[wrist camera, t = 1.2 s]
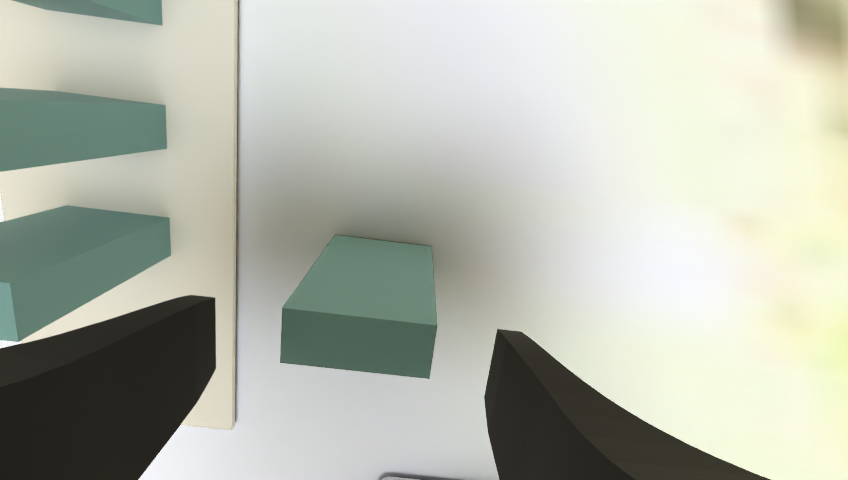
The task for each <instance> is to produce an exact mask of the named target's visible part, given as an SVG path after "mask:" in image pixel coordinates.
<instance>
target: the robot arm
mask: <svg viewBox="0 0 848 480" xmlns="http://www.w3.org/2000/svg"><path fill="white" fill-rule="evenodd" d="M215 370H216V309H215V297H206V296H197V295H187V296H182V297H178V298H174V299H171V300H167V301H164V302H161V303H158V304H155V305H151V306H148V307H145V308H142V309H139V310H136V311H133V312H130V313H127V314H124V315H121V316H118V317H115V318H112V319H109V320H105V321H102V322H99V323H95V324H92V325H89V326H85V327H82V328H78V329H75V330H72V331H68V332H65V333H62V334H58V335H54V336H51V337H47V338H43V339H39V340H35V341H31V342H27V343H23V344H18V345H14V346H9V347H5V348H1V349H0V480H138V479H139V478H140V477H141V475H142V474H143V473H144V471H145V470H146V469H147V467H148V466H149V465H150V464H151V462H152V461H153V460H154V458H155V457H156V456H157V454H158V453H159V452H160V451H161V449H162V448H163V447H164V445H165V444H166V443H167V442H168V440H169V439H170V438H171V436H172V435H173V434H174V432H175V431H176V430H177V429H178V427H179V426H180V425H181V423H182V422H183V421H184V419H185V418H186V417H187V415H188V414H189V413H190V411H191V410H192V409H193V407H194V406H195V405H196V403H197V402H198V400H199V398H200V397H201V395H202V393H203V392H204V390H205V388H206V386H207V385H208V383H209V381H210V379H211V377H212V375H213V373H214V372H215ZM484 398H485V408H486V418H487V426H488V434H489V438H490V442H491V446H492V450H493V455H494V459H495V463H496V467H497V471H498V475H499V479H500V480H770V479H767V478H765V477H762V476H759V475H757V474H754V473H752V472H749V471H747V470H745V469H742V468H740V467H738V466H735V465H733V464H731V463H728V462H726V461H723V460H721V459H719V458H716V457H714V456H712V455H710V454H708V453H705V452H703V451H701V450H699V449H697V448H695V447H693V446H690V445H688V444H686V443H685V442H683V441H681V440H679V439H677V438H675V437H673V436H671V435H669V434H667V433H665V432H663V431H661V430H659V429H657V428H656V427H654V426H652V425H650V424H648V423H647V422H645V421H643V420H641V419H640V418H638V417H636V416H635V415H633V414H631V413H630V412H628V411H627V410H625V409H623V408H622V407H620V406H618V405H617V404H615V403H614V402H612V401H611V400H609V399H608V398H606V397H605V396H603V395H602V394H600V393H599V392H598V391H596V390H595V389H593V388H592V387H591V386H589V385H588V384H586V383H585V382H584V381H582V380H581V379H580V378H578V377H577V376H576V375H575V374H573V373H572V372H571V371H569V370H568V369H567V368H566V367H564V366H563V365H562V364H561V363H560V362H558V361H557V360H556V359H555V358H553V357H552V356H551V355H550V354H549V353H547V352H546V351H545V350H544V349H543V348H541V347H540V346H539V345H538V344H537V343H535V342H534V341H533V340H532V339H530V338H529V337H528V336H526V335H525V334H523V333H522V332H518V331H509V330H500V329H497V334H496V339H495V345H494V350H493V355H492V360H491V366H490V371H489V376H488V381H487V386H486V392H485V397H484ZM381 480H419V479H409V478H399V477H385V478H382V479H381Z"/></svg>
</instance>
